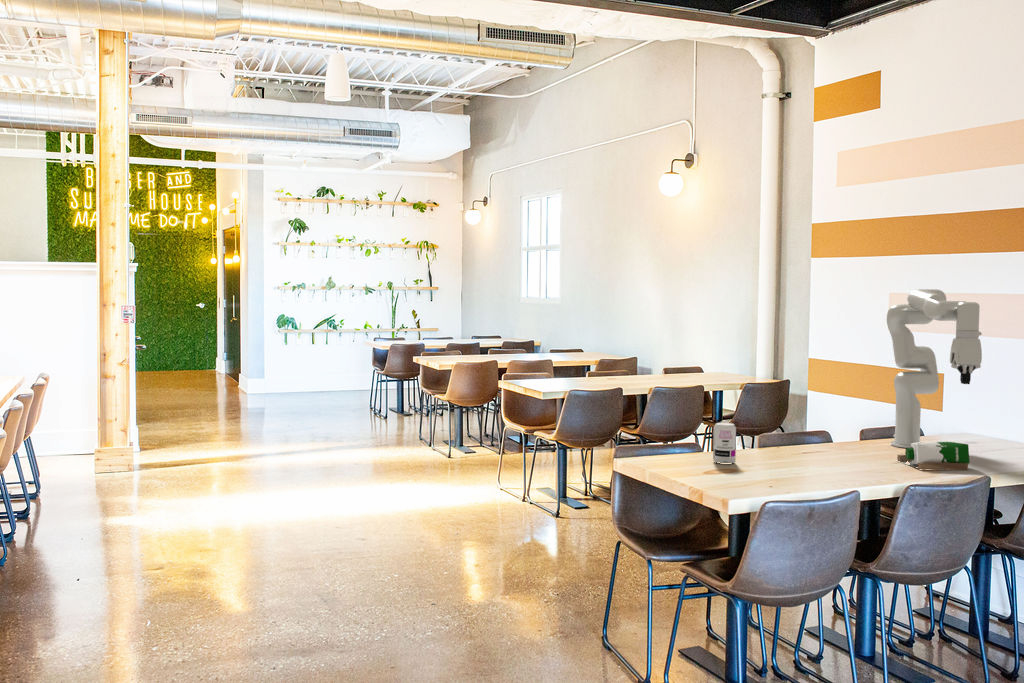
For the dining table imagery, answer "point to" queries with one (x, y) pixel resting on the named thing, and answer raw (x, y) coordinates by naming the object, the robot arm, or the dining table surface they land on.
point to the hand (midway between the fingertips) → (965, 383)
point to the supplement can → (724, 443)
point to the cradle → (935, 464)
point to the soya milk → (938, 452)
